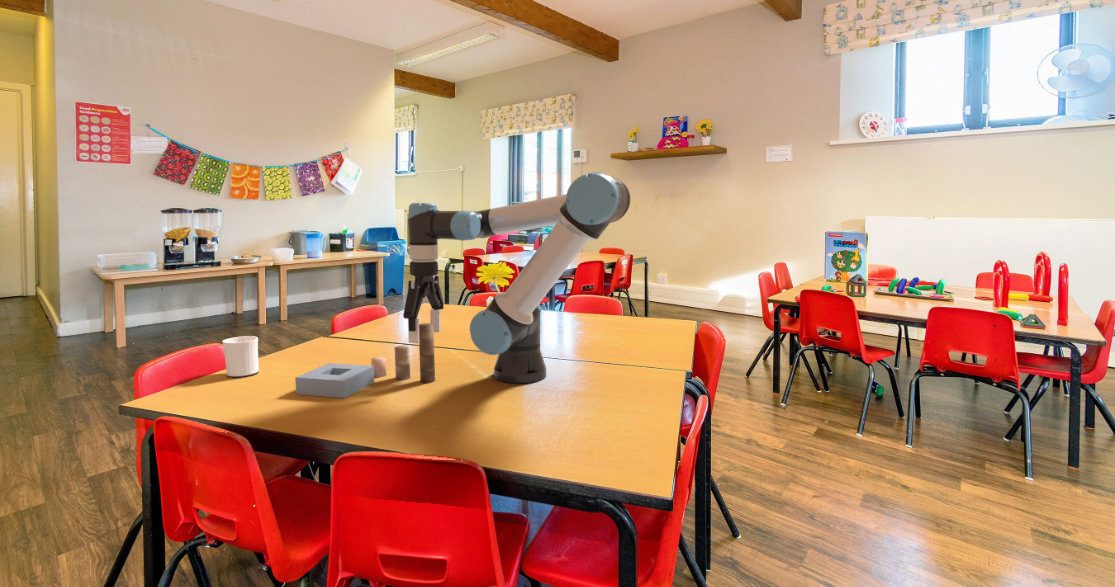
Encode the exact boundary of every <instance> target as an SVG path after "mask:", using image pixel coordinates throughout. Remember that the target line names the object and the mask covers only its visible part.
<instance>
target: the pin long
mask: <svg viewBox="0 0 1115 587" xmlns="http://www.w3.org/2000/svg"><path fill="white" fill-rule="evenodd" d="M418 344H419V345H418V346H419V348H418V349H419V378H420V383H423V384H430V383H433V382H436V366H435V361H436V360H435V332H434V326H433V324H432V323H431V322H429V323H428V322H427V323H425V322H424V323H419V343H418Z"/></svg>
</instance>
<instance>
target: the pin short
mask: <svg viewBox="0 0 1115 587" xmlns="http://www.w3.org/2000/svg"><path fill="white" fill-rule="evenodd" d="M370 361H371V365H370V366H374V378H384V377H385V376H387V358H386V357H385V356H375V357H372V358H371V359H370Z"/></svg>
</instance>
